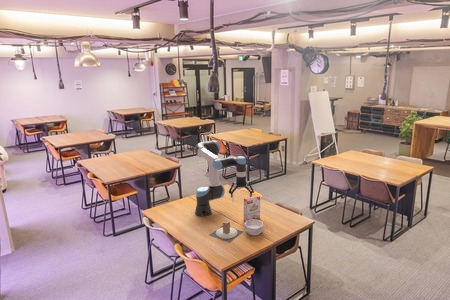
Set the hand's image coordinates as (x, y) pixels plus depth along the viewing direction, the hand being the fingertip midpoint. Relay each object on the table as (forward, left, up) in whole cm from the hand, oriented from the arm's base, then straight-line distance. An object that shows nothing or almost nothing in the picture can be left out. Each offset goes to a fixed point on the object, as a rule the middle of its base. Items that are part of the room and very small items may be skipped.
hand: (241, 200), depth 249 cm
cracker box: (0, +17, -24) cm, 29 cm away
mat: (-4, -15, -24) cm, 28 cm away
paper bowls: (+13, -1, -24) cm, 27 cm away
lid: (-4, -15, -23) cm, 28 cm away
